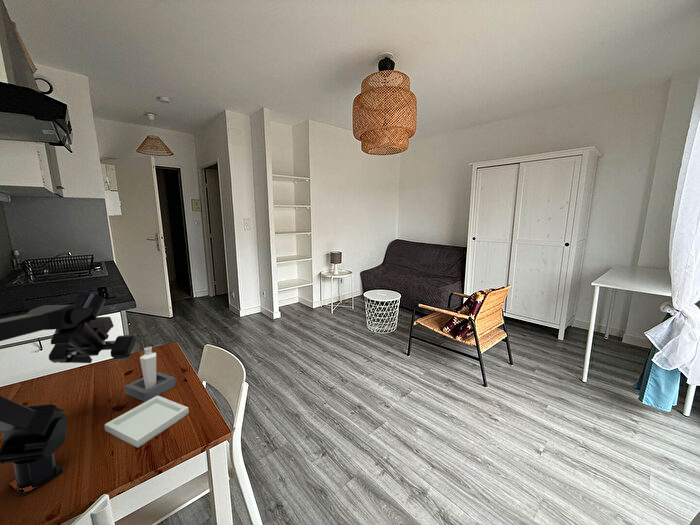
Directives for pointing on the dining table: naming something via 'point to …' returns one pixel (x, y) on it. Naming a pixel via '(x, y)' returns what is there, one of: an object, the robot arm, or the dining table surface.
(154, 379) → the perfume bottle
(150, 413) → the tray
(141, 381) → the bottle collar
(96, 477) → the dining table surface
